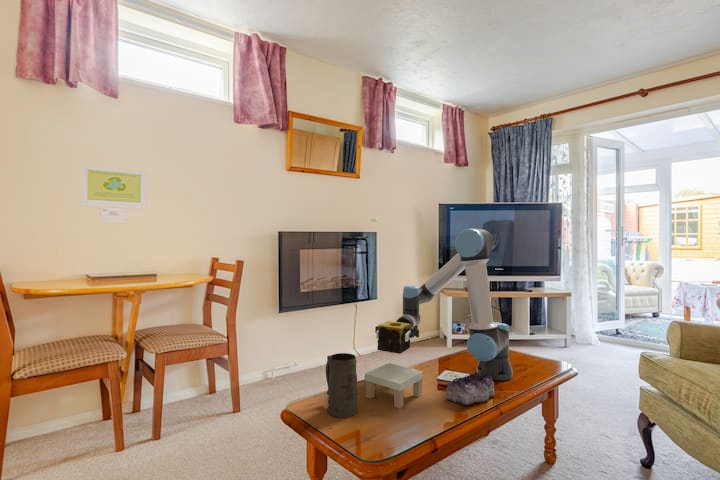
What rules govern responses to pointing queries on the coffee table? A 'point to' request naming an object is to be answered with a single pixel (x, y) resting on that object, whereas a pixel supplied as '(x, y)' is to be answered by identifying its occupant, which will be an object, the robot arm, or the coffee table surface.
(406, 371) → the footstool
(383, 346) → the candle
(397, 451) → the coffee table surface
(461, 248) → the robot arm
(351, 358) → the beer stein
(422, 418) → the coffee table surface
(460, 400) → the geode
